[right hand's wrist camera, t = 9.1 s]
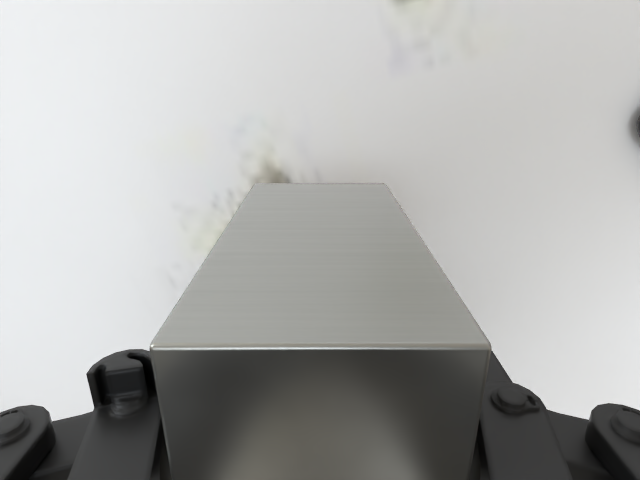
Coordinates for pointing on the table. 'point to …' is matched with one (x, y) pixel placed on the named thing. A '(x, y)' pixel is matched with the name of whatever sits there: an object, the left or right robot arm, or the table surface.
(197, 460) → the bar
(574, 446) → the right robot arm
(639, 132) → the smartphone
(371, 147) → the table surface
